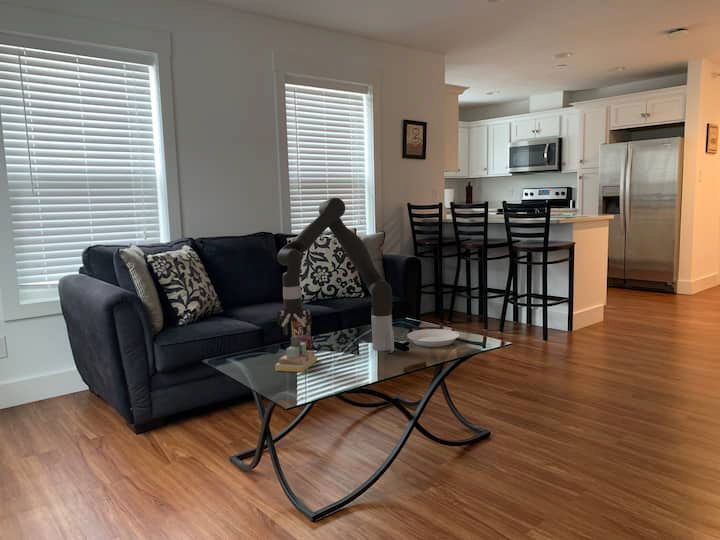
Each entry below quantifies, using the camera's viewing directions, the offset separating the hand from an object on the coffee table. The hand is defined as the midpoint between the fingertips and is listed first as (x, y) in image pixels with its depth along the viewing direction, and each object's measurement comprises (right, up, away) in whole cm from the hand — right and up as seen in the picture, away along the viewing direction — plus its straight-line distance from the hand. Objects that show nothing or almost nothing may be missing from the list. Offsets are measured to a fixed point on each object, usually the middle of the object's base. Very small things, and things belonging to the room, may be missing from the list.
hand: (295, 335), depth 232 cm
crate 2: (+1, -8, +5) cm, 10 cm away
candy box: (-1, -11, +34) cm, 36 cm away
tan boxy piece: (0, -11, +2) cm, 11 cm away
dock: (0, -15, +2) cm, 15 cm away
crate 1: (-1, -9, -2) cm, 9 cm away
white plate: (+62, -8, +36) cm, 73 cm away
